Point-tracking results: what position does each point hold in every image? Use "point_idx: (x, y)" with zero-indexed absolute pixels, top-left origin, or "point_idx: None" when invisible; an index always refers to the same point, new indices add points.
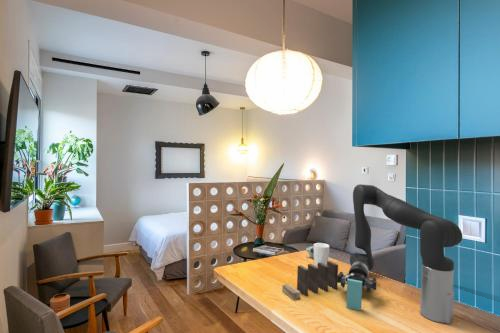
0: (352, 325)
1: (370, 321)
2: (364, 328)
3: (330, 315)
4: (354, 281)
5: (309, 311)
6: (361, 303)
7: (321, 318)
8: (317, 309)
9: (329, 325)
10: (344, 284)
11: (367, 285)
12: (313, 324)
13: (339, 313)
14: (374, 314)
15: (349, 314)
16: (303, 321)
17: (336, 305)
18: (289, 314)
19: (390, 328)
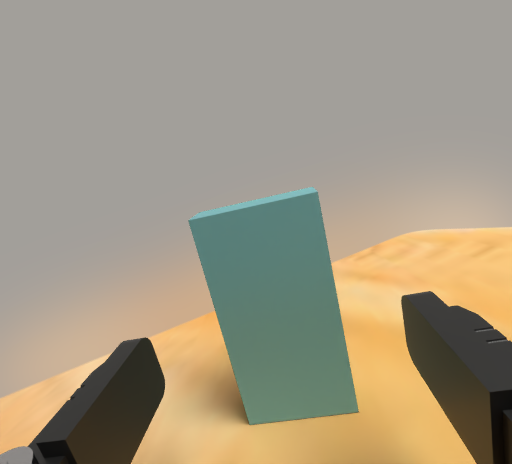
0: None
1: (216, 337)
2: None
3: (381, 293)
4: (255, 200)
5: (475, 272)
6: (239, 384)
7: (396, 269)
8: (466, 294)
9: (351, 263)
10: (421, 349)
11: (116, 363)
12: (394, 248)
13: (355, 319)
14: (176, 401)
15: None
16: (430, 242)
17: None
18: (506, 237)
19: (150, 337)
